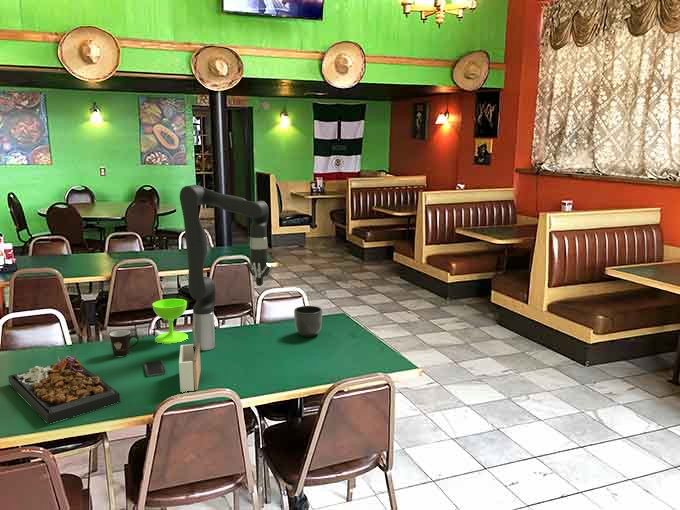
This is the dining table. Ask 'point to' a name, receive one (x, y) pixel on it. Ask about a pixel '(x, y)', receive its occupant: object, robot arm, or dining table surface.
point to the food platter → (63, 390)
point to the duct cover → (197, 366)
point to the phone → (154, 368)
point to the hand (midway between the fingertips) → (259, 285)
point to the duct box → (186, 368)
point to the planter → (308, 320)
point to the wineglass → (170, 319)
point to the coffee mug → (121, 342)
